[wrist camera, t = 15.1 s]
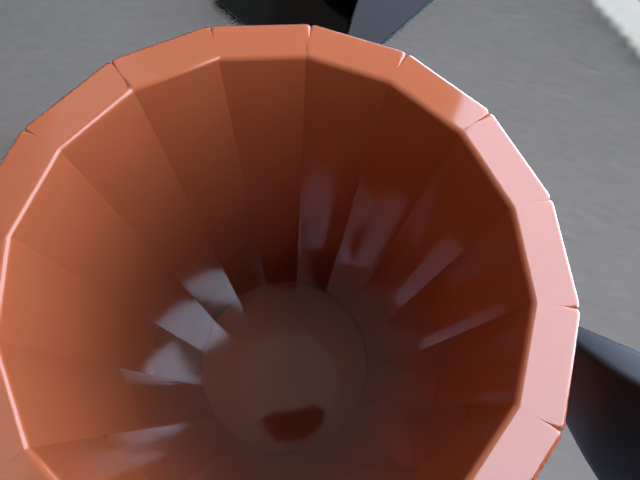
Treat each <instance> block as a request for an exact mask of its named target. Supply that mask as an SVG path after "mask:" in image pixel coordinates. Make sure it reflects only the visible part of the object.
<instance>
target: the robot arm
mask: <svg viewBox="0 0 640 480" xmlns="http://www.w3.org/2000/svg"><path fill="white" fill-rule="evenodd" d="M565 422H566V424H567V426H568V428H569V430H570V432H571V433H572V435H573V437H574V439H575V441H576V443H577V445H578V447H579V448H580V450H581V452H582V454H583V456H584V457H585V459H586V461H587V462H588V464H589V466H590V467H591V469H592V470H593V472H594V473H595V475H596V477H597V478H598V480H640V352H638V351H636V350H634V349H631V348H629V347H626V346H624V345H622V344H619V343H617V342H615V341H612V340H610V339H608V338H605V337H603V336H600V335H598V334H596V333H593V332H591V331H589V330H586V329H584V328H582V327H579V326H578V332H577V340H576V347H575V354H574V362H573V369H572V376H571V384H570V391H569V398H568V406H567V413H566V421H565Z"/></svg>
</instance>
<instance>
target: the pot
mask: <svg viewBox="0 0 640 480" xmlns="http://www.w3.org/2000/svg"><path fill="white" fill-rule="evenodd" d="M549 198H550V196H549V193H548V192H547V190H546V189H545V188H544V186H543V185H542V183H541V182H540V181H539V179H538V178H537V176H536V175H535V174H534V172H533V171H532V169H531V168H530V166H529V165H528V164H527V162H526V161H525V159H524V158H523V157H522V155H521V154H520V152H519V151H518V149H517V148H516V147H515V145H514V144H513V142H512V141H511V140H510V138H509V137H508V135H507V134H506V133H505V131H504V130H503V128H502V127H501V125H500V124H499V123H498V121H497V120H496V118H495V117H494V116H493V115H492V114H488V110H487V109H486V108H485V107H483V106H482V105H481V104H479V103H478V102H476V101H475V100H474V99H472V98H471V97H469V96H468V95H466V94H465V93H464V92H462V91H461V90H459V89H458V88H457V87H455V86H454V85H452V84H451V83H449V82H448V81H447V80H445V79H444V78H442V77H441V76H440V75H438V74H437V73H435V72H434V71H432V70H431V69H430V68H428V67H427V66H425V65H424V64H423V63H421V62H420V61H418V60H417V59H415V58H414V57H413V56H411V55H407V56H405V53H404V52H403V51H400V50H397V49H393V48H390V47H386V46H383V45H380V44H376V43H373V42H370V41H366V40H363V39H360V38H356V37H353V36H350V35H346V34H343V33H340V32H336V31H333V30H330V29H326V28H323V27H320V26H316V25H313V26H312V27H311V28H310V26H309V25H308V24H286V25H242V26H214V27H212V28H211V29H210V28H209V27H204V28H202V29H199V30H196V31H193V32H190V33H187V34H185V35H182V36H179V37H176V38H173V39H170V40H167V41H165V42H162V43H159V44H156V45H153V46H150V47H147V48H145V49H142V50H139V51H136V52H133V53H130V54H127V55H125V56H122V57H119V58H116V59H114V60H113V61H112V63H107V64H105V65H104V66H103V67H101V68H100V69H99V70H98V71H96V72H95V73H94V74H92V75H91V76H90V77H89V78H87V79H86V80H85V81H83V82H82V83H81V84H80V85H78V86H77V87H76V88H75V89H73V90H72V91H71V92H69V93H68V94H67V95H66V96H64V97H63V98H62V99H60V100H59V101H58V102H57V103H55V104H54V105H53V106H52V107H50V108H49V109H48V110H46V111H45V112H44V113H43V114H41V115H40V116H39V117H37V118H36V119H35V120H34V121H32V122H31V123H30V124H28V125H27V126H26V128H25V131H22V132H20V133H19V135H18V137H17V138H16V140H15V141H14V143H13V145H12V146H11V148H10V149H9V151H8V153H7V154H6V156H5V157H4V159H3V161H2V162H1V164H0V480H535V479H536V477H537V476H538V474H539V473H540V471H541V469H542V468H543V466H544V464H545V463H546V461H547V459H548V458H549V456H550V455H551V453H552V451H553V450H554V448H555V446H556V445H557V443H558V441H559V440H560V438H561V433H560V432H559V431H562V430H563V428H564V427H565V421H566V413H567V406H568V398H569V391H570V384H571V376H572V369H573V362H574V354H575V347H576V340H577V332H578V325H579V318H580V313H579V311H578V310H577V308H578V307H579V301H578V297H577V293H576V289H575V285H574V281H573V277H572V274H571V270H570V266H569V262H568V258H567V254H566V250H565V246H564V243H563V239H562V235H561V231H560V227H559V223H558V219H557V216H556V212H555V208H554V204H553V202H552V201H551V200H549Z"/></svg>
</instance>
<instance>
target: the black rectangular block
mask: <svg viewBox="0 0 640 480" xmlns="http://www.w3.org/2000/svg"><path fill="white" fill-rule="evenodd" d="M432 1H433V0H218V2H219V5H220V6H222V7H223V8H224V9H225V10H227V11H228V12H229V13H230V14H232V15H233V16H234V17H235V18H237V19H238V20H239V21H240V22H241V23H243V24H244V25H286V24H308V25H309V26H310V28H311V27H312V26H313V25H316V26H320V27H323V28H326V29H330V30H333V31H336V32H340V33H343V34H346V35H350V36H353V37H356V38H360V39H363V40H366V41H370V42H373V43H376V44H380V45H383V44H385V43H386V42H387V41H388V40H389V39H390V38H391V37H392V36H393V35H395V34H396V33H397V32H398V31H399V30H400V29H401V28H402V27H404V26H405V25H406V24H407V23H408V22H409V21H410V20H411V19H413V18H414V17H415V16H416V15H417V14H418V13H419V12H420V11H421V10H423V9H424V8H425V7H426V6H427V5H428V4H429V3H430V2H432Z"/></svg>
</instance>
